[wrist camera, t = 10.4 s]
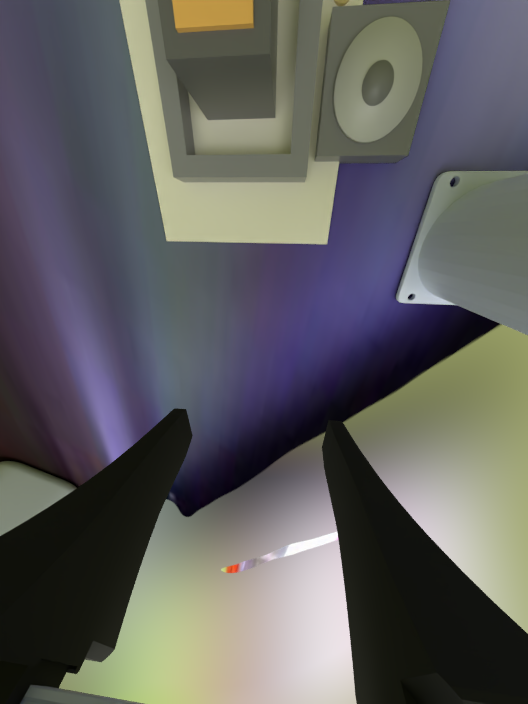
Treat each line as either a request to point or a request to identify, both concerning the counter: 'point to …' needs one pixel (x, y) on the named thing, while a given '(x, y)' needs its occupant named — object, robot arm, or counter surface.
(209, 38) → the plug
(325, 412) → the counter surface
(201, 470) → the counter surface
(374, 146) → the fan housing
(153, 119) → the board
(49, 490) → the plastic bottle
